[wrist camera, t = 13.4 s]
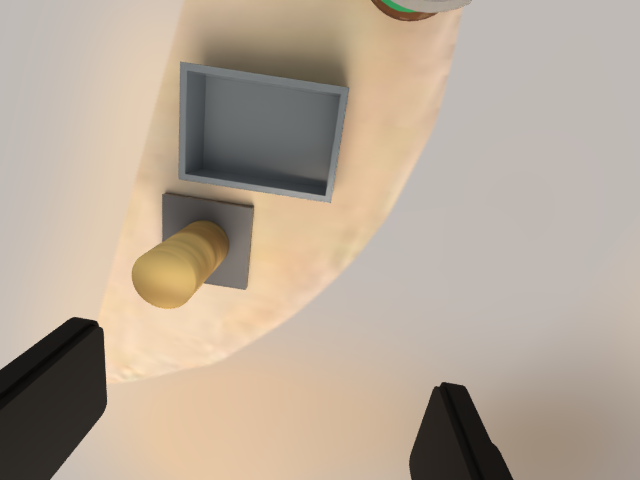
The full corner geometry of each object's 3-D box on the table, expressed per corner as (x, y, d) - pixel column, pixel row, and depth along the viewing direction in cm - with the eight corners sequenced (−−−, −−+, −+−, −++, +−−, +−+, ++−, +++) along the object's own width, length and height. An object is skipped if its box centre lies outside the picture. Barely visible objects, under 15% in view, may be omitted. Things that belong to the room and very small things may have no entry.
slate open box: (202, 70, 35) (180, 61, 30) (348, 92, 35) (349, 87, 30) (198, 172, 38) (178, 179, 33) (332, 193, 38) (330, 203, 33)
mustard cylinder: (182, 216, 39) (130, 246, 29) (230, 224, 39) (194, 256, 29) (181, 261, 41) (132, 303, 31) (227, 269, 41) (193, 313, 31)
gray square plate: (165, 193, 39) (162, 194, 38) (254, 206, 39) (252, 208, 38) (165, 273, 42) (162, 276, 41) (247, 286, 42) (245, 289, 41)
